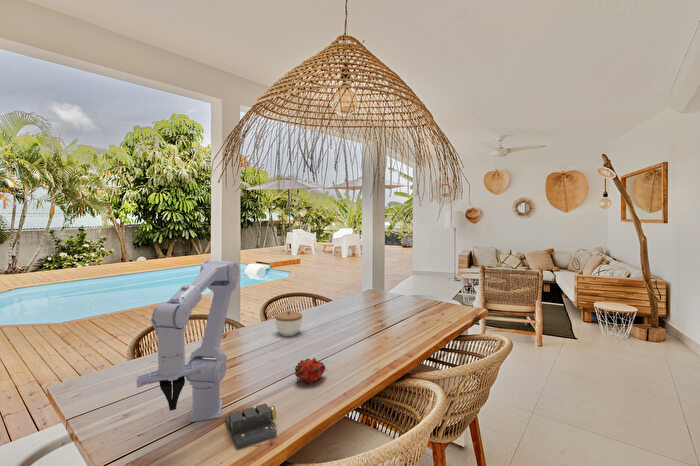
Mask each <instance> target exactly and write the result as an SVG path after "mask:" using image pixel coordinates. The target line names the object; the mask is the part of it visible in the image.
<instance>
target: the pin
mask: <svg viewBox="0 0 700 466" xmlns="http://www.w3.org/2000/svg"><path fill="white" fill-rule="evenodd" d="M268 407H269V409H270V410H271V421H274V420H277V411H276V407H275V406H274V405H271V406H268ZM257 414H258V415H260V414H259V412H258V413H257ZM243 418H244V419H246V417H245V416H244V417H243ZM230 425H231V429H232V422H231V421H230Z"/></svg>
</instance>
